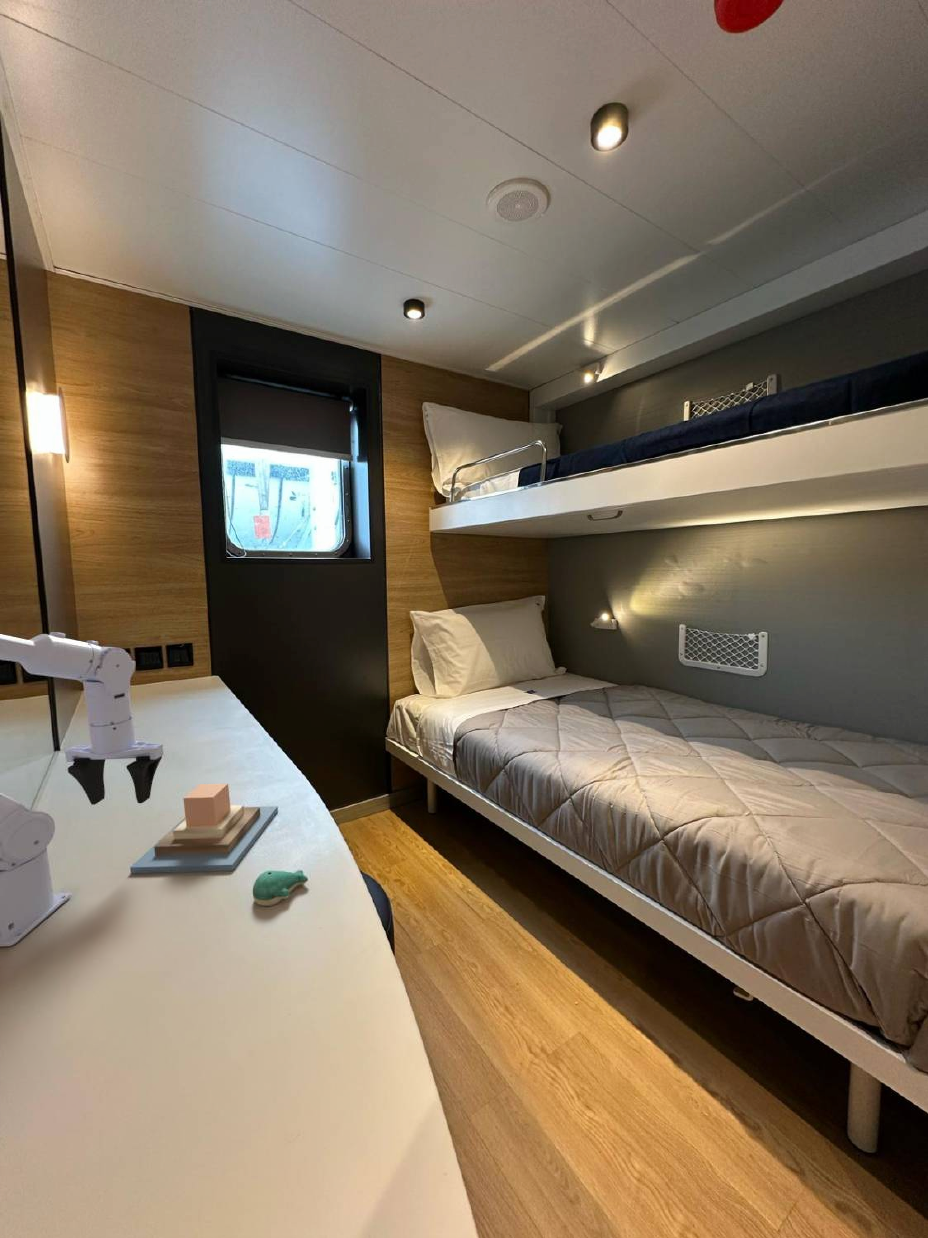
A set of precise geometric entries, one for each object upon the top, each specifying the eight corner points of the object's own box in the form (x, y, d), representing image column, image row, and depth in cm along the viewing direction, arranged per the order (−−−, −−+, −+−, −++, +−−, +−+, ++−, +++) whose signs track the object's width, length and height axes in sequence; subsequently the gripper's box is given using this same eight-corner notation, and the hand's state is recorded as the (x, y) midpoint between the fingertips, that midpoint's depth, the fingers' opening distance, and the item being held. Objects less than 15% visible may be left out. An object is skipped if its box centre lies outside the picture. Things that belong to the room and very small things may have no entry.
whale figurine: (249, 894, 70) (246, 869, 70) (299, 873, 75) (298, 850, 74) (259, 916, 66) (257, 890, 65) (313, 893, 70) (311, 868, 70)
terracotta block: (216, 825, 81) (213, 797, 81) (186, 826, 81) (183, 798, 81) (230, 810, 86) (228, 783, 86) (202, 811, 86) (199, 784, 86)
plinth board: (232, 870, 76) (230, 846, 75) (130, 873, 76) (127, 849, 75) (277, 811, 93) (276, 791, 93) (195, 813, 94) (193, 793, 93)
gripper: (170, 711, 82) (179, 788, 84) (85, 714, 82) (95, 790, 84) (143, 725, 75) (152, 809, 77) (49, 728, 75) (61, 811, 77)
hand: (121, 801), depth 80 cm, fingers open, 7 cm apart
